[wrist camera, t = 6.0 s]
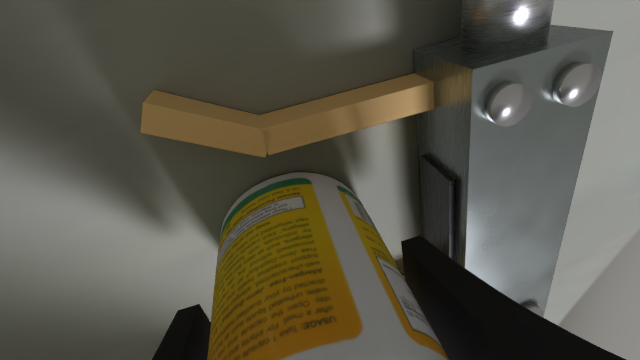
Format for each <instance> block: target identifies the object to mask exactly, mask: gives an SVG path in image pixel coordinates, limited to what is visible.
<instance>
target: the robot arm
mask: <svg viewBox="0 0 640 360" xmlns="http://www.w3.org/2000/svg"><path fill="white" fill-rule="evenodd" d="M401 243H402V253H403V263H404V273H405V281H406V283H407V285H408V287H409V288H410V290H411V292H412V294H413V296H414V298H415V299H416V301H417V303H418V305H419V306H420V308H421V310H422V312H423V314H424V315H425V317H426V319H427V321H428V322H429V324H430V326H431V328H432V329H433V331H434V333H435V335H436V336H437V338H438V340H439V342H440V344H441V346H442V347H443V349H444V351H445V353H446V355H447V357H448V359H449V360H626V359H623V358H621V357H619V356H617V355H615V354H613V353H610V352H608V351H606V350H604V349H602V348H600V347H598V346H596V345H594V344H592V343H590V342H588V341H586V340H584V339H582V338H580V337H578V336H576V335H574V334H572V333H570V332H568V331H567V330H565V329H563V328H561V327H559V326H557V325H556V324H554V323H552V322H550V321H548V320H546V319H545V318H543V317H541V316H539V315H538V314H536V313H534V312H532V311H531V310H529V309H527V308H526V307H524V306H522V305H521V304H519V303H517V302H516V301H514V300H512V299H511V298H509V297H508V296H506V295H504V294H503V293H501V292H500V291H498V290H497V289H495V288H493V287H492V286H490V285H489V284H487V283H486V282H484V281H483V280H482V279H480V278H479V277H477V276H476V275H474V274H473V273H471V272H470V271H468V270H467V269H465V268H464V267H463V266H461V265H460V264H458V263H457V262H456V261H454V260H453V259H452V258H450V257H449V256H447V255H446V254H445V253H443V252H442V251H441V250H439V249H438V248H437V247H436V246H434V245H433V244H432V243H430V242H429V241H428V240H426V239H425V238H424V237H422V236H418V237H414V238H411V239H408V240H405V241H401ZM210 328H211V322H210V321H209V319H208V318H207V316H206V314H205V313H204V311H203V309H202V308H201V306H200V305H199V304H198V305H194V306H191V307H188V308H185V309H181V310H178V312H177V313H176V315H175V317H174V319H173V321H172V323H171V325H170V326H169V328H168V330H167V332H166V334H165V336H164V338H163V340H162V342H161V344H160V346H159V347H158V349H157V351H156V353H155V355H154V357H153V359H152V360H207V358H208V350H209V339H210Z"/></svg>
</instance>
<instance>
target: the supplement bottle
mask: <svg viewBox="0 0 640 360" xmlns="http://www.w3.org/2000/svg"><path fill="white" fill-rule="evenodd" d="M207 360H449V359H448V357H447V355H446V353H445V351H444V349H443V347H442V346H441V344H440V342H439V340H438V338H437V336H436V335H435V333H434V331H433V329H432V328H431V326H430V324H429V322H428V321H427V319H426V317H425V315H424V314H423V312H422V310H421V308H420V306H419V305H418V303H417V301H416V299H415V298H414V296H413V294H412V292H411V290H410V288H409V287H408V285H407V283H406V281H405V279H404V278H403V276H402V274H401V272H400V270H399V268H398V267H397V265H396V263H395V261H394V259H393V258H392V256H391V254H390V252H389V250H388V249H387V247H386V245H385V243H384V242H383V240H382V238H381V236H380V234H379V232H378V231H377V229H376V227H375V225H374V223H373V222H372V220H371V218H370V217H369V215H368V213H367V212H366V210H365V209H364V207H363V205H362V203H361V201H360V200H359V199H358V197H357V196H356V195H355V194H354V193H353V192H352V191H351V190H350V189H349V188H348V187H347V186H346V185H344V184H342V183H341V182H339V181H337V180H335V179H333V178H331V177H328V176H325V175H321V174H317V173H308V172H295V173H289V174H284V175H280V176H277V177H274V178H271V179H269V180H266V181H264V182H261V183H259V184H257V185H255V186H254V187H252V188H251V189H249V190H248V191H246V192H245V193H244V194H243V195H242V196H240V197H239V198H238V199H237V201H236V202H235V203H234V204H233V205H232V207H231V208H230V210H229V211H228V213H227V215H226V217H225V219H224V221H223V225H222V228H221V233H220V242H219V249H218V259H217V267H216V276H215V286H214V296H213V307H212V318H211V328H210V339H209V350H208V358H207Z"/></svg>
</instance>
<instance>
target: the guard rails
mask: <svg viewBox="0 0 640 360" xmlns="http://www.w3.org/2000/svg"><path fill="white" fill-rule="evenodd" d="M432 109H434V83H433V82H432V81H430V80H428V79H426V78H424V77H422V76H419V75H417V74H415V73H413V74H409V75H406V76H402V77H398V78H394V79H391V80H387V81H383V82H380V83H376V84H372V85H369V86H365V87H361V88H358V89H354V90H350V91H347V92H343V93H339V94H335V95H332V96H328V97H324V98H321V99H317V100H313V101H310V102H306V103H302V104H299V105H295V106H291V107H288V108H284V109H280V110H276V111H273V112H269V113H265V114H262V115H256V114H252V113H248V112H244V111H239V110H235V109H231V108H227V107H223V106H219V105H215V104H210V103H206V102H202V101H198V100H194V99H190V98H185V97H181V96H177V95H173V94H169V93H165V92H160V91H156V90H153V92H152V93H151V94H150V95H149V96H148V97H147V98H146V99H145V101H144V102H143V106H142V118H141V129H140V133H144V134H149V135H154V136H159V137H164V138H169V139H174V140H179V141H184V142H189V143H194V144H199V145H204V146H209V147H214V148H219V149H224V150H229V151H234V152H239V153H244V154H249V155H254V156H259V157H264V158H265V157H266V153H267V151H268V154H269V155H272V154H275V153H279V152H282V151H286V150H289V149H293V148H296V147H300V146H304V145H307V144H311V143H314V142H318V141H321V140H325V139H329V138H332V137H336V136H339V135H343V134H346V133H350V132H353V131H357V130H361V129H364V128H368V127H371V126H375V125H378V124H382V123H386V122H389V121H393V120H396V119H400V118H403V117H407V116H410V115H414V114H418V113H421V112H425V111H428V110H432ZM402 276H403V278H404V279H405V275H402Z"/></svg>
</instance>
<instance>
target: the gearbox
mask: <svg viewBox="0 0 640 360" xmlns="http://www.w3.org/2000/svg"><path fill="white" fill-rule="evenodd" d="M553 4H554V0H462V32H461V37H460V38H456V39H452V40H448V41H445V42H441V43H437V44H433V45H429V46H426V47H422V48H418V49H414V50H413V57H414V73H415V74H417V75H419V76H422V77H424V78H426V79H428V80H430V81H432V82H433V83H434V109H432V110H428V111H425V112H421V113H418V114H417V133H418V152H419V171H420V190H421V209H422V227H423V237H424V238H425V239H426V240H428V241H429V242H430V243H432V244H433V245H434V246H436V247H437V248H438V249H439V250H441V251H442V252H443V253H445V254H446V255H447V256H449V257H450V258H452V259H453V260H454V261H456V262H457V263H458V264H460V265H461V266H463V267H464V268H465V269H467V270H468V271H470V272H471V273H473V274H474V275H476V276H477V277H479V278H480V279H482V280H483V281H484V282H486V283H487V284H489V285H490V286H492V287H493V288H495V289H497V290H498V291H500V292H501V293H503V294H504V295H506V296H508V297H509V298H511V299H512V300H514V301H516V302H517V303H519V304H521V305H522V306H524V307H526V308H527V309H529V310H531V311H532V312H534V313H536V314H538V315H539V316H541V317H543V316H544V312H545V308H546V304H547V299H548V295H549V291H550V287H551V283H552V279H553V275H554V271H555V267H556V263H557V259H558V254H559V250H560V246H561V242H562V238H563V234H564V230H565V226H566V222H567V218H568V214H569V210H570V205H571V201H572V197H573V193H574V189H575V185H576V181H577V177H578V173H579V169H580V165H581V160H582V156H583V152H584V148H585V144H586V140H587V136H588V132H589V128H590V124H591V120H592V116H593V111H594V107H595V103H596V99H597V95H598V91H599V87H600V83H601V79H602V75H603V71H604V67H605V62H606V58H607V54H608V50H609V46H610V42H611V38H612V34H613V31H606V30H596V29H586V28H577V27H567V26H558V25H550V24H551V17H552V11H553Z"/></svg>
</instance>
